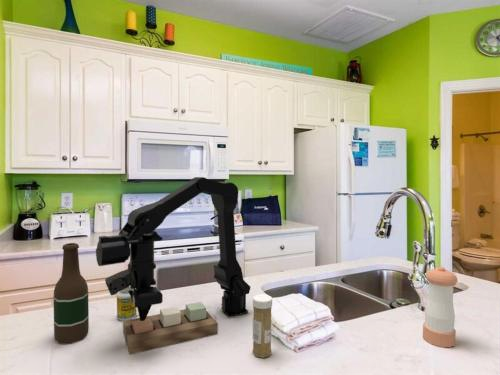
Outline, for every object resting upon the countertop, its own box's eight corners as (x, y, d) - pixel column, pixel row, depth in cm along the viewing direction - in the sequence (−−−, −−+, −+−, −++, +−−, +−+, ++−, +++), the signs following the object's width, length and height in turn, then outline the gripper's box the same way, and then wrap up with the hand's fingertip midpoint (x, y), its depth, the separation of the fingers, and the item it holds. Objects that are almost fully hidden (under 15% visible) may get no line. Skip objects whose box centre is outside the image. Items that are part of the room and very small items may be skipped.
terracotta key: (149, 329, 86) (149, 318, 86) (153, 336, 82) (153, 325, 82) (132, 332, 84) (132, 321, 84) (134, 340, 80) (134, 328, 80)
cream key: (176, 316, 89) (176, 306, 89) (180, 323, 85) (180, 312, 85) (159, 320, 87) (159, 309, 87) (163, 327, 83) (163, 315, 83)
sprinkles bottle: (273, 357, 76) (274, 300, 75) (254, 359, 75) (255, 301, 74) (268, 347, 80) (269, 293, 80) (250, 349, 79) (250, 294, 78)
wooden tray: (202, 316, 97) (202, 306, 97) (217, 334, 86) (217, 322, 86) (123, 331, 87) (123, 320, 86) (129, 354, 76) (129, 342, 76)
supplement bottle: (133, 311, 99) (133, 280, 99) (138, 318, 95) (138, 285, 94) (115, 315, 96) (114, 283, 96) (119, 322, 92) (118, 289, 91)
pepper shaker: (443, 350, 80) (447, 273, 79) (416, 337, 86) (419, 265, 85) (461, 343, 83) (464, 269, 82) (433, 331, 89) (436, 262, 88)
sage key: (200, 312, 92) (200, 301, 92) (206, 318, 89) (206, 307, 88) (185, 315, 90) (185, 304, 90) (190, 321, 86) (190, 310, 86)
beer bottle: (95, 332, 86) (94, 242, 85) (70, 347, 79) (69, 248, 78) (72, 327, 89) (71, 239, 88) (46, 341, 81) (45, 245, 80)
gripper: (104, 254, 87) (105, 312, 87) (110, 274, 70) (111, 345, 71) (148, 250, 92) (148, 304, 93) (163, 267, 75) (163, 334, 76)
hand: (142, 320), depth 83 cm, fingers closed
